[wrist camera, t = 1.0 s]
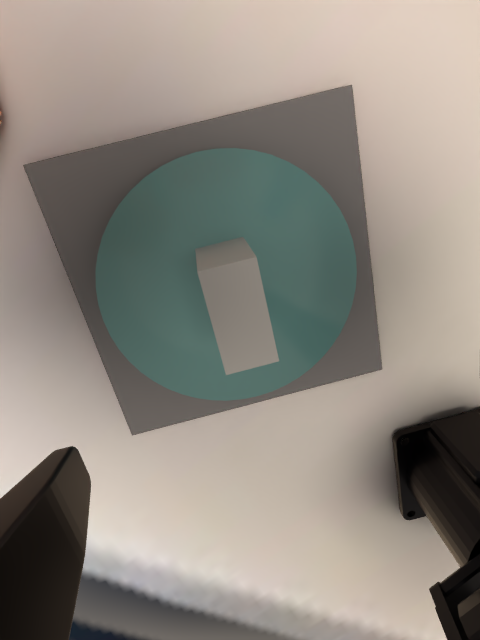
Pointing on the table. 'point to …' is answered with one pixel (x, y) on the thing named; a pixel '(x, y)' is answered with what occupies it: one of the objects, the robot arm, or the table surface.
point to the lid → (226, 274)
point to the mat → (162, 147)
